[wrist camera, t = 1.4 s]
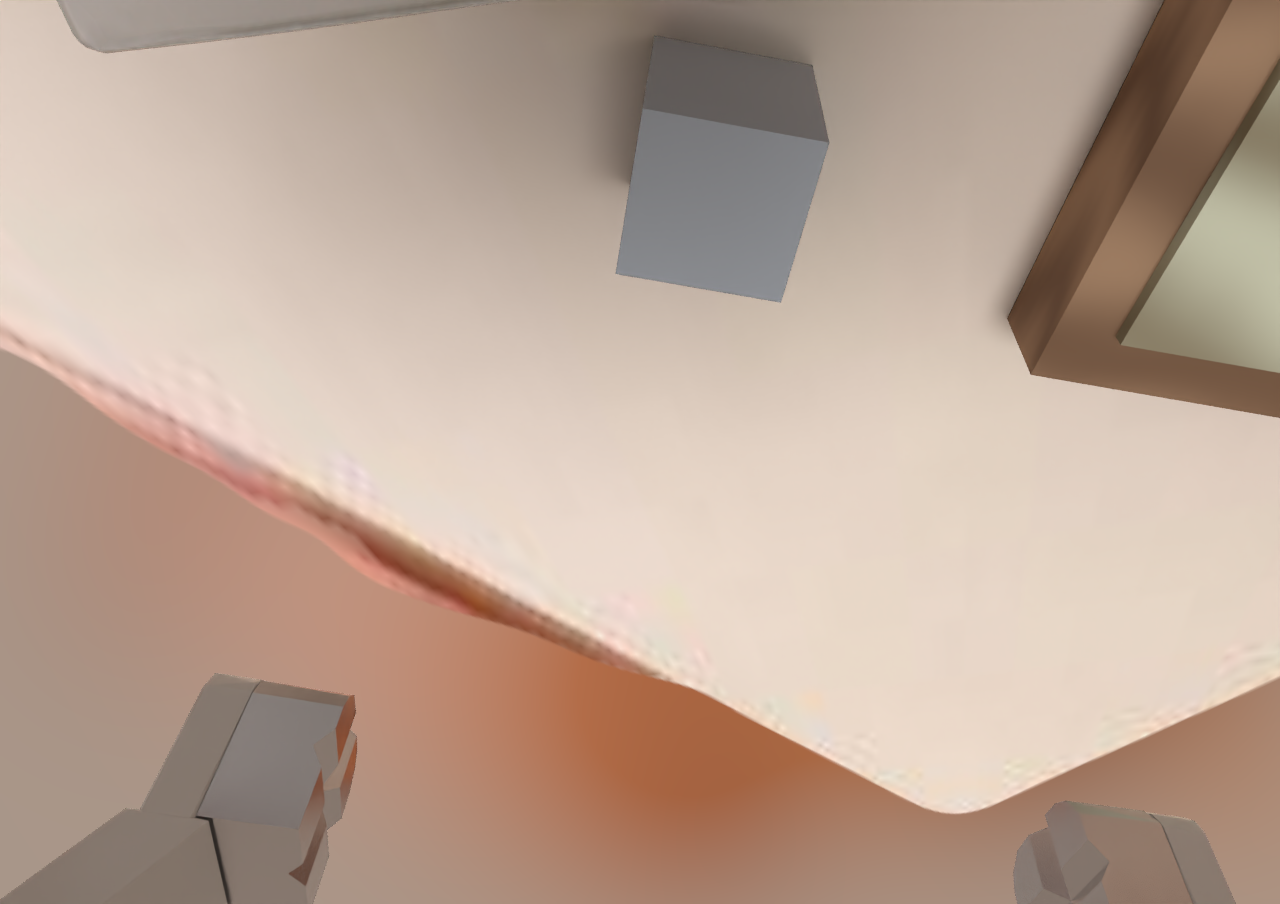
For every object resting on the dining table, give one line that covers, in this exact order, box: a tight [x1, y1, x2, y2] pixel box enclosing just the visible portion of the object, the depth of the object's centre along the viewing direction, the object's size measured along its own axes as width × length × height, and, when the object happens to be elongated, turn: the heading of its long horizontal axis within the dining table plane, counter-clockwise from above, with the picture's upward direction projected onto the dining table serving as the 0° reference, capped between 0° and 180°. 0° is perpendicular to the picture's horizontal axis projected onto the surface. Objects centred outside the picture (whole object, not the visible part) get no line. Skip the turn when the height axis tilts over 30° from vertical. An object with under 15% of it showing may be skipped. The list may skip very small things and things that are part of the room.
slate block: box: [616, 36, 829, 302], centre depth 29 cm, size 5×5×6 cm
